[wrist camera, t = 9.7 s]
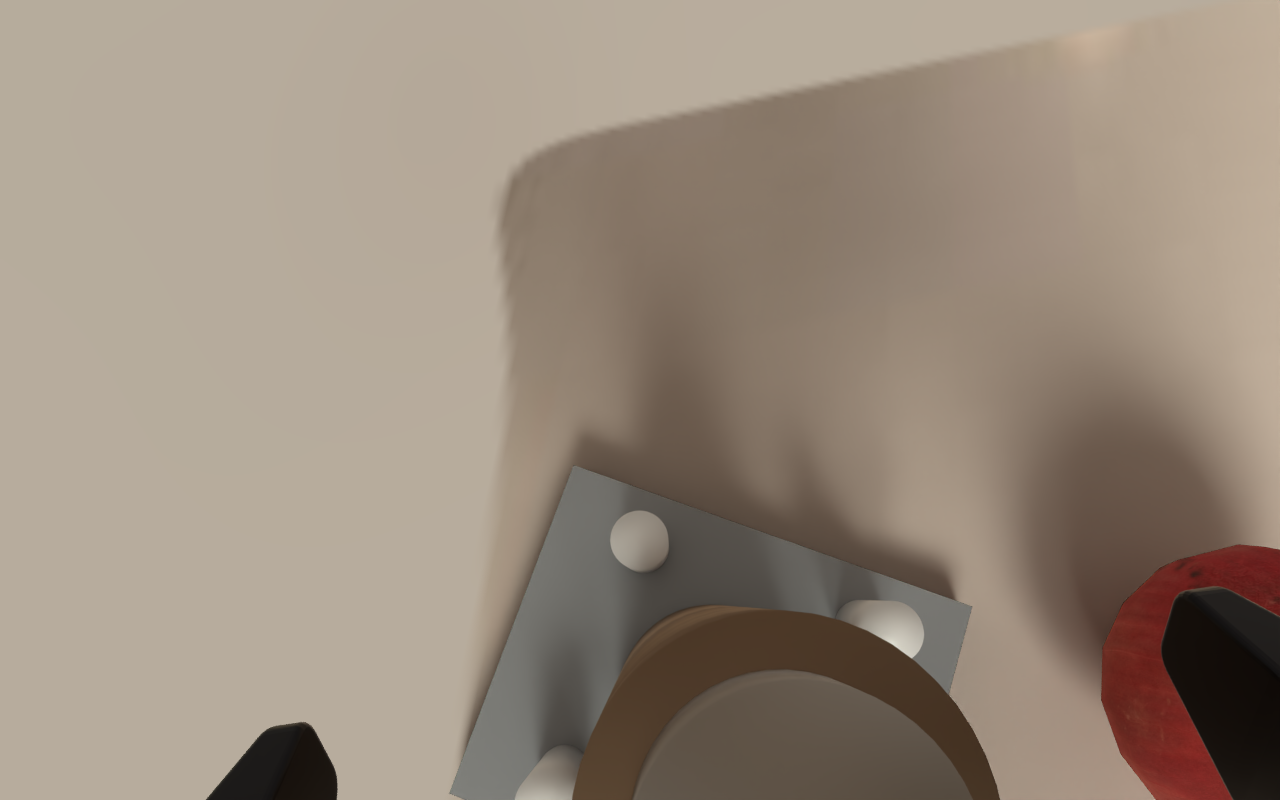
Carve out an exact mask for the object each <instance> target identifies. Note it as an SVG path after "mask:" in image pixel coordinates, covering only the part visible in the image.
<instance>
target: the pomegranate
mask: <svg viewBox="0 0 1280 800" xmlns="http://www.w3.org/2000/svg"><path fill="white" fill-rule="evenodd" d="M1212 586H1218V587H1223V588H1227V589H1229V590H1231V591H1233V592H1235V593H1237V594H1239V595H1241V596H1243V597H1245V598H1246V599H1248V600H1250V601H1252V602H1254V603H1256V604H1258V605H1259V606H1261V607H1263V608H1265V609H1267V610H1269V611H1271V612H1272V613H1274V614H1276V615H1278V616H1280V550H1278V549H1273V548H1267V547H1259V546H1249V545H1235V546H1231V547H1227V548H1223V549H1219V550H1215V551H1211V552H1207V553H1204V554H1200V555H1196V556H1192V557H1188V558H1184V559H1180V560H1177V561H1175V562H1172V563H1170V564H1168V565H1165V566H1163V567H1161V568H1159V569H1158V570H1157V571H1156V572H1155V573H1154V574H1153V575H1152V576H1151V577H1150V578H1149V579H1148V580H1147V581H1146V582H1145V583H1144V584H1143V585H1142V586H1141V587H1139V588H1138V589H1137V590H1136V591H1135V592H1134V593H1133V594H1132V595H1131V596H1130V597H1129V598H1128V599H1127V600H1126V601H1125V602H1124V603H1123V604H1122V607H1121V609H1120V611H1119V613H1118V615H1117V618H1116V620H1115V622H1114V624H1113V626H1112V628H1111V631H1110V633H1109V635H1108V637H1107V639H1106V642H1105V644H1104V646H1103V651H1102V692H1101V701H1102V703H1103V706H1104V709H1105V712H1106V715H1107V717H1108V720H1109V723H1110V726H1111V728H1112V731H1113V734H1114V737H1115V740H1116V742H1117V745H1118V748H1119V751H1120V753H1121V755H1122V756H1123V758H1124V759H1125V760H1126V762H1127V763H1128V764H1129V765H1130V767H1131V768H1132V769H1133V771H1134V772H1135V773H1136V774H1137V776H1138V777H1139V778H1140V780H1141V781H1142V782H1143V783H1144V785H1145V786H1146V787H1147V789H1148V790H1149V791H1150V792H1151V794H1152V795H1153V796H1154V798H1155V799H1156V800H1233V799H1232V798H1231V796H1230V794H1229V792H1228V790H1227V789H1226V787H1225V785H1224V783H1223V781H1222V779H1221V777H1220V775H1219V773H1218V771H1217V769H1216V767H1215V765H1214V763H1213V761H1212V759H1211V757H1210V755H1209V753H1208V751H1207V749H1206V748H1205V746H1204V744H1203V742H1202V740H1201V738H1200V736H1199V734H1198V732H1197V730H1196V728H1195V726H1194V724H1193V722H1192V720H1191V718H1190V716H1189V714H1188V712H1187V710H1186V708H1185V706H1184V704H1183V702H1182V700H1181V699H1180V697H1179V695H1178V693H1177V691H1176V689H1175V687H1174V685H1173V683H1172V681H1171V679H1170V677H1169V675H1168V673H1167V671H1166V669H1165V666H1164V664H1163V661H1162V656H1161V642H1162V638H1163V635H1164V631H1165V628H1166V625H1167V621H1168V618H1169V614H1170V611H1171V608H1172V604H1173V601H1174V599H1175V597H1176V596H1177V595H1178V594H1179V593H1180V592H1182V591H1185V590H1191V589H1198V588H1205V587H1212Z"/></svg>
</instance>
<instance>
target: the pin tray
mask: <svg viewBox="0 0 1280 800" xmlns="http://www.w3.org/2000/svg"><path fill="white" fill-rule="evenodd" d="M699 605H724V606H737V607H749V608H761V609H774V610H786V611H795V612H804V613H813V614H818V615H822V616H826V617H830V618H834V619H838V620H842V621H844V622H847V623H849V624H852V625H854V626H857V627H859V628H862V629H864V630H867V631H869V632H871V633H873V634H874V635H876V636H878V637H880V638H882V639H883V640H885V641H887V642H889V643H891V644H892V645H894V646H895V647H897V648H898V649H899V650H901V651H902V652H903V653H905V654H906V655H908V656H909V657H910V658H912V659H913V660H914V661H916V662H917V663H918V664H919V665H920V666H921V667H922V668H923V669H924V670H925V671H926V672H928V673H929V674H930V675H931V676H932V677H933V678H934V679H935V680H936V681H937V682H938V683H939V684H940V686H941V687H942V688H943V689H944V690H945V692H946V693H947V694H948V695H949V691H950V688H951V684H952V680H953V676H954V673H955V669H956V665H957V661H958V658H959V654H960V650H961V647H962V643H963V639H964V635H965V632H966V628H967V624H968V620H969V617H970V613H971V609H972V606H969V605H967V604H964V603H961V602H958V601H955V600H952V599H950V598H947V597H944V596H941V595H938V594H936V593H933V592H930V591H927V590H924V589H922V588H919V587H916V586H913V585H910V584H907V583H905V582H902V581H899V580H896V579H893V578H891V577H888V576H885V575H882V574H879V573H876V572H874V571H871V570H868V569H865V568H862V567H860V566H857V565H854V564H851V563H848V562H845V561H843V560H840V559H837V558H834V557H831V556H829V555H826V554H823V553H820V552H817V551H814V550H812V549H809V548H806V547H803V546H800V545H798V544H795V543H792V542H789V541H786V540H783V539H781V538H778V537H775V536H772V535H769V534H767V533H764V532H761V531H758V530H755V529H753V528H750V527H747V526H744V525H741V524H738V523H736V522H733V521H730V520H727V519H724V518H722V517H719V516H716V515H713V514H710V513H707V512H705V511H702V510H699V509H696V508H693V507H691V506H688V505H685V504H682V503H679V502H676V501H674V500H671V499H668V498H665V497H662V496H660V495H657V494H654V493H651V492H648V491H645V490H643V489H640V488H637V487H634V486H631V485H629V484H626V483H623V482H620V481H617V480H614V479H612V478H609V477H606V476H603V475H600V474H598V473H595V472H592V471H589V470H586V469H584V468H581V467H578V466H575V465H574V466H573V468H572V471H571V473H570V476H569V479H568V481H567V484H566V487H565V489H564V492H563V495H562V497H561V500H560V503H559V505H558V508H557V510H556V513H555V516H554V518H553V521H552V524H551V526H550V529H549V532H548V534H547V537H546V539H545V542H544V545H543V547H542V550H541V553H540V555H539V558H538V561H537V563H536V566H535V569H534V571H533V574H532V576H531V579H530V582H529V584H528V587H527V590H526V592H525V595H524V598H523V600H522V603H521V605H520V608H519V611H518V613H517V616H516V619H515V621H514V624H513V627H512V629H511V632H510V635H509V637H508V640H507V642H506V645H505V648H504V650H503V653H502V656H501V658H500V661H499V664H498V666H497V669H496V671H495V674H494V677H493V679H492V682H491V685H490V687H489V690H488V693H487V695H486V698H485V700H484V703H483V706H482V708H481V711H480V714H479V716H478V719H477V722H476V724H475V727H474V730H473V732H472V735H471V737H470V740H469V743H468V745H467V748H466V751H465V753H464V756H463V759H462V761H461V764H460V766H459V769H458V772H457V774H456V777H455V780H454V782H453V785H452V788H451V790H450V794H452V795H454V796H457V797H459V798H462V799H464V800H572V796H573V790H574V786H575V782H576V778H577V774H578V770H579V766H580V763H581V760H582V757H583V755H584V752H585V749H586V747H587V744H588V742H589V739H590V736H591V734H592V732H593V730H594V728H595V726H596V723H597V721H598V719H599V717H600V715H601V713H602V711H603V709H604V706H605V704H606V702H607V700H608V698H609V696H610V694H611V692H612V689H613V687H614V685H615V683H616V681H617V679H618V677H619V675H620V673H621V670H622V668H623V666H624V664H625V662H626V660H627V658H628V656H629V654H630V652H631V650H632V649H633V647H634V646H635V645H636V643H637V642H638V640H639V639H640V638H641V637H642V636H643V635H644V634H645V632H646V631H647V630H648V629H650V628H651V627H652V626H653V625H654V624H656V623H657V622H658V621H660V620H661V619H663V618H665V617H666V616H668V615H670V614H672V613H674V612H677V611H679V610H682V609H685V608H689V607H693V606H699Z"/></svg>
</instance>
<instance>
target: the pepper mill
mask: <svg viewBox="0 0 1280 800" xmlns="http://www.w3.org/2000/svg"><path fill="white" fill-rule="evenodd" d="M572 800H1000V798H999V794H998V790H997V785H996V783H995V780H994V777H993V774H992V771H991V769H990V766H989V763H988V760H987V758H986V755H985V753H984V751H983V749H982V747H981V745H980V743H979V741H978V739H977V737H976V735H975V733H974V731H973V729H972V728H971V726H970V725H969V723H968V722H967V720H966V719H965V717H964V715H963V714H962V712H961V711H960V709H959V708H958V706H957V705H956V703H955V702H954V701H953V700H952V699H951V697H950V696H949V695H948V694H947V693H946V692H945V690H944V689H943V688H942V687H941V686H940V684H939V683H938V682H937V681H936V680H935V679H934V678H933V677H932V676H931V675H930V674H929V673H928V672H926V671H925V670H924V669H923V668H922V667H921V666H920V665H919V664H918V663H917V662H916V661H914V660H913V659H912V658H910V657H909V656H908V655H906V654H905V653H903V652H902V651H901V650H899V649H898V648H897V647H895V646H894V645H892V644H891V643H889V642H887V641H885V640H883V639H882V638H880V637H878V636H876V635H874V634H873V633H871V632H869V631H867V630H864V629H862V628H859V627H857V626H854V625H852V624H849V623H847V622H844V621H842V620H838V619H834V618H830V617H826V616H822V615H818V614H813V613H804V612H795V611H786V610H774V609H761V608H749V607H737V606H724V605H699V606H693V607H689V608H685V609H682V610H679V611H677V612H674V613H672V614H670V615H668V616H666V617H665V618H663V619H661V620H660V621H658V622H657V623H656V624H654V625H653V626H652V627H651V628H650V629H648V630H647V631H646V632H645V634H644V635H643V636H642V637H641V638H640V639H639V640H638V642H637V643H636V645H635V646H634V647H633V649H632V650H631V652H630V654H629V656H628V658H627V660H626V662H625V664H624V666H623V668H622V670H621V673H620V675H619V677H618V679H617V681H616V683H615V685H614V687H613V689H612V692H611V694H610V696H609V698H608V700H607V702H606V704H605V706H604V709H603V711H602V713H601V715H600V717H599V719H598V721H597V723H596V726H595V728H594V730H593V732H592V734H591V736H590V739H589V742H588V744H587V747H586V749H585V752H584V755H583V757H582V760H581V763H580V766H579V770H578V774H577V778H576V782H575V786H574V790H573V796H572Z"/></svg>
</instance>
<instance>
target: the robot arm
mask: <svg viewBox="0 0 1280 800" xmlns="http://www.w3.org/2000/svg"><path fill="white" fill-rule="evenodd" d="M1161 656H1162V661H1163V664H1164V666H1165V669H1166V671H1167V673H1168V675H1169V677H1170V679H1171V681H1172V683H1173V685H1174V687H1175V689H1176V691H1177V693H1178V695H1179V697H1180V699H1181V700H1182V702H1183V704H1184V706H1185V708H1186V710H1187V712H1188V714H1189V716H1190V718H1191V720H1192V722H1193V724H1194V726H1195V728H1196V730H1197V732H1198V734H1199V736H1200V738H1201V740H1202V742H1203V744H1204V746H1205V748H1206V749H1207V751H1208V753H1209V755H1210V757H1211V759H1212V761H1213V763H1214V765H1215V767H1216V769H1217V771H1218V773H1219V775H1220V777H1221V779H1222V781H1223V783H1224V785H1225V787H1226V789H1227V790H1228V792H1229V794H1230V796H1231V798H1232V799H1233V800H1280V616H1278V615H1276V614H1274V613H1272V612H1271V611H1269V610H1267V609H1265V608H1263V607H1261V606H1259V605H1258V604H1256V603H1254V602H1252V601H1250V600H1248V599H1246V598H1245V597H1243V596H1241V595H1239V594H1237V593H1235V592H1233V591H1231V590H1229V589H1227V588H1223V587H1218V586H1212V587H1205V588H1198V589H1191V590H1185V591H1182V592H1180V593H1179V594H1178V595H1177V596H1176V597H1175V599H1174V601H1173V604H1172V608H1171V611H1170V614H1169V618H1168V621H1167V625H1166V628H1165V631H1164V635H1163V638H1162V642H1161ZM206 800H337V776H336V772H335V769H334V766H333V764H332V762H331V760H330V759H329V757H328V755H327V753H326V751H325V749H324V747H323V745H322V743H321V741H320V740H319V738H318V736H317V734H316V732H315V730H314V729H313V727H312V726H311V725H309V724H308V723H306V722H299V723H293V724H286V725H279V726H274V727H271V728H269V729H267V730H266V731H265V732H263V733H262V734H261V735H260V736H259V737H258V738H257V740H256V741H255V742H254V743H253V744H252V745H251V747H250V748H249V749H248V750H247V751H246V753H245V754H244V755H243V756H242V757H241V759H240V760H239V761H238V762H237V763H236V765H235V766H234V767H233V768H232V770H230V772H229V773H228V774H227V775H226V776H225V778H224V779H223V780H222V781H221V782H220V784H219V785H218V786H217V787H216V788H215V790H214V791H213V792H212V793H211V794H210V795H209V797H208V798H207V799H206Z"/></svg>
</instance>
